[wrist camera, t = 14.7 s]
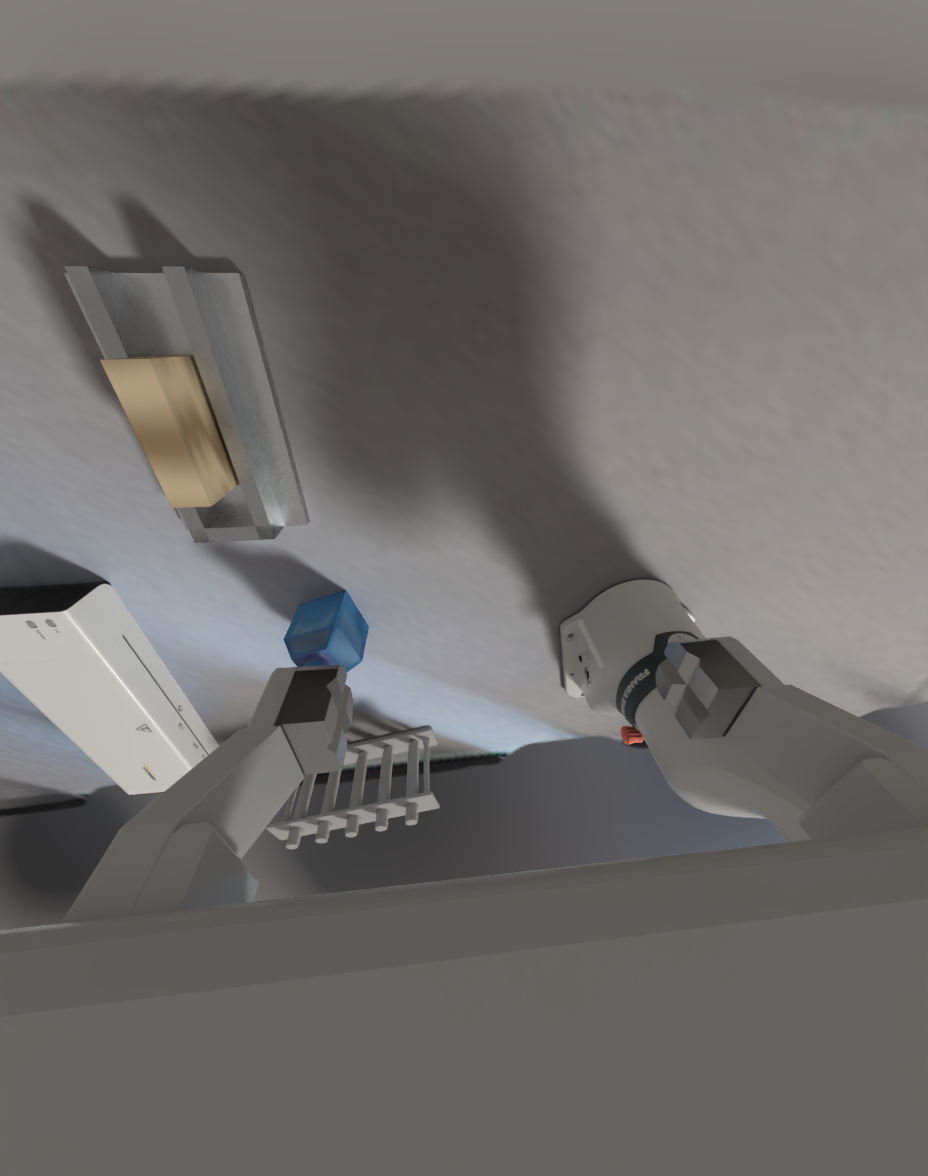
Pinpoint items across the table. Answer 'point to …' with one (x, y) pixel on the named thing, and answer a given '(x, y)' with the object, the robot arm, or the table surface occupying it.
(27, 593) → the laminator
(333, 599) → the perfume bottle
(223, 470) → the tan wooden block
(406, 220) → the table surface
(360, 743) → the test tube rack
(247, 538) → the floor track
